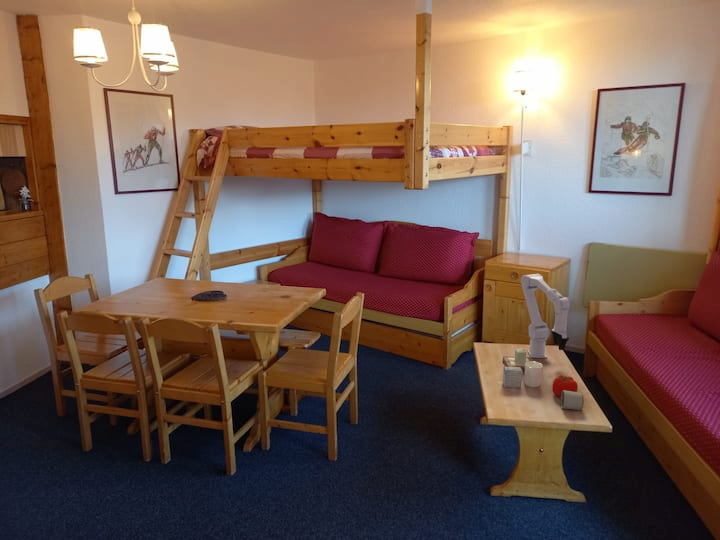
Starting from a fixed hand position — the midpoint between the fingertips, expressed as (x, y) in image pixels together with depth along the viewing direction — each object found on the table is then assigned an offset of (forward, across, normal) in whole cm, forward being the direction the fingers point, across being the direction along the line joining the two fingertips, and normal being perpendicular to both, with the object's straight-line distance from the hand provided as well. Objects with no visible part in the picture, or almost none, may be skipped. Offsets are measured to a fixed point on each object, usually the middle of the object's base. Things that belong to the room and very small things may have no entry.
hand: (558, 347), depth 261 cm
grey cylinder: (+11, +43, -8) cm, 45 cm away
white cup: (+11, +22, -18) cm, 30 cm away
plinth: (+10, +1, -19) cm, 22 cm away
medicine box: (+11, +24, -28) cm, 38 cm away
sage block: (+8, +1, -19) cm, 21 cm away
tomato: (+11, +33, -7) cm, 35 cm away
